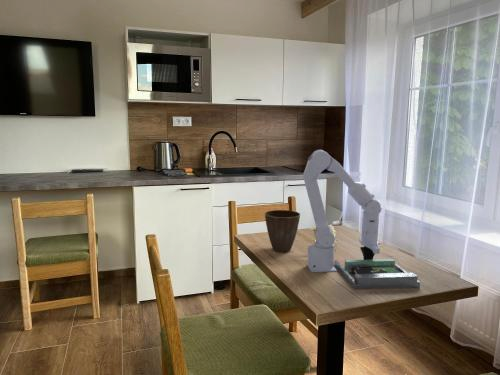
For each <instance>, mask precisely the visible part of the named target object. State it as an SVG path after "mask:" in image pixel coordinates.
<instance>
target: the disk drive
mask: <svg viewBox="0 0 500 375" xmlns="http://www.w3.org/2000/svg"><path fill="white" fill-rule="evenodd" d="M376 273H400V272H399V271H397V270H396V269H394V268H393V266H391V267H390V266H371V267H353V272H352V274H353V275H354V276H355V274H376Z"/></svg>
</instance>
